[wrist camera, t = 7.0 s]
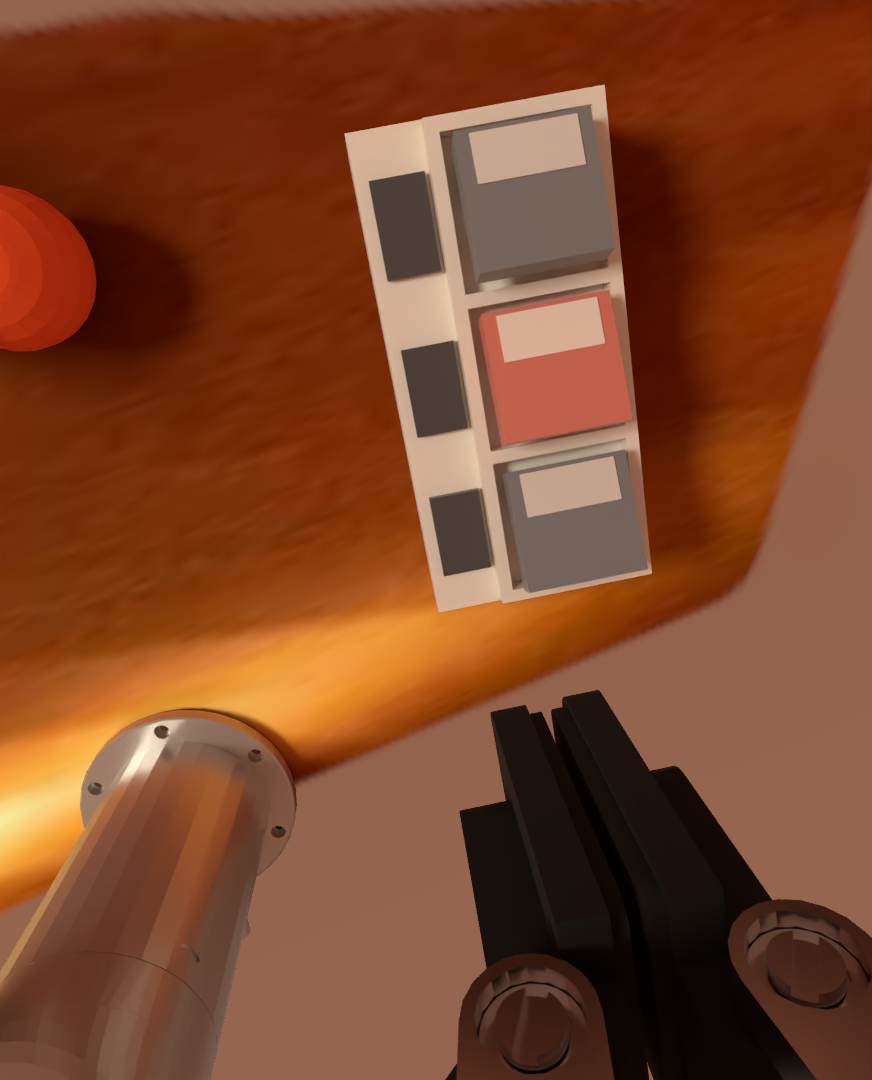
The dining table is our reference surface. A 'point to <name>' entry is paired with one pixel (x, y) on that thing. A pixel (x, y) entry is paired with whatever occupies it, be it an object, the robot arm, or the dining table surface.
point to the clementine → (41, 273)
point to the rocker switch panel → (470, 345)
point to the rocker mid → (555, 368)
